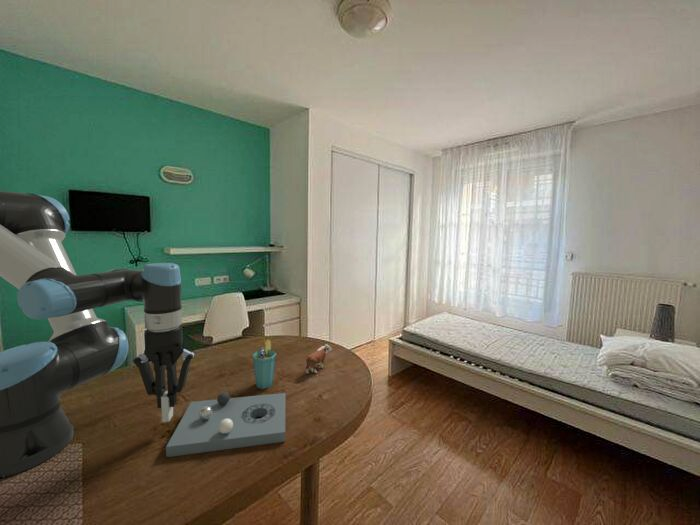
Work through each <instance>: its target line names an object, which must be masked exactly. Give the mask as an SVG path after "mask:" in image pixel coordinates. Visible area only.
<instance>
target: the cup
mask: <svg viewBox="0 0 700 525" xmlns="http://www.w3.org/2000/svg"><path fill="white" fill-rule="evenodd" d="M271 349H272V341H271V339H266V340H265V342H264V344H263V347H261V348H260V350H257V351H255V352H254V353H253V354H252V355H251V356H252V359H253V367H254V369H253V370H254V378H255V386H256V388H257V389H261V390H265V389H268V388H271V387H272V385H273V383H274V372H275V362H276V357H277V353H276V352H275V350H273V349H272V350H271Z"/></svg>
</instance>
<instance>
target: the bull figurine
mask: <svg viewBox="0 0 700 525" xmlns="http://www.w3.org/2000/svg"><path fill="white" fill-rule="evenodd" d="M332 351H333V349H332V347H331V346H330V345H328V343H325V344H322V346H320V347H319V348H318V349H316V350H315V351H314V352H312V353H311V354H309V355H308V356H307V357H306V359H305V363H306V367H305V370H306V371H305V373H306V374H307V375H308V374H310V372H309V368H310V370H311V372H312V373H313V372H314V374H318V373H319V372H318V371H317V369H316V366H317V365H318V366H320V368H321V369H324V368H323V367H324V362H325V360H326V357H327V356H326V355H327V354H328V353H329V352H332Z"/></svg>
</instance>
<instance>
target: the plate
mask: <svg viewBox="0 0 700 525" xmlns="http://www.w3.org/2000/svg"><path fill="white" fill-rule="evenodd" d="M205 406H209V407H211V408H212V410H213V414H212V416H211V417H210V418H209V419H207V420H201V419H200V418H199V412H200V410H201V409H202V408H203V407H205ZM257 417H261V418H257ZM227 418H228V419H231V420H232V422H233V428H232V430H231V431H230V432H229V433H226V434H222V433H221V432H220V431H219V424H220V422H221V421H222V420H224V419H227ZM284 442H286V392H279V393H272V394H271V393H270V394H269V393H268V394H260V395H259V394H258V395H248V396H240V397H239V396H238V397H230V399H229V401H228V402H227V403H226V404H224V405H221V404H219V403H218V401H217V398H216V399H206V400H205V399H204V400H197V401H190V403H189V405H188V406H187V409H186V410H185V413H184V414H183V416H182V417H181V420H180V422H178V424H177V427H176V428H175V430H174V432H173V434H172V436H171V437H170V439H169V441H168V443H167V444H166V447H165V452H166V453H165V454H166V455H165V456H166V458H169V457H171V458H172V457H178V456H179V457H180V456H185V455H187V456H188V455H193V454H200V453H201V454H202V453H208V452H217V451H225V450H229V449H237V448H238V449H239V448H246V447H254V446H260V445H261V446H262V445H268V444H278V443H284Z"/></svg>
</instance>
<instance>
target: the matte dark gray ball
mask: <svg viewBox="0 0 700 525" xmlns="http://www.w3.org/2000/svg"><path fill="white" fill-rule="evenodd" d="M230 398H231V397H230V394H229V392H226V391H223V392H220V393H219V394H218V395H217V398H216V399H217V401H218V403H219V404H221V405H224V404H226V403H227V402H228V401H229V399H230Z"/></svg>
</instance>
